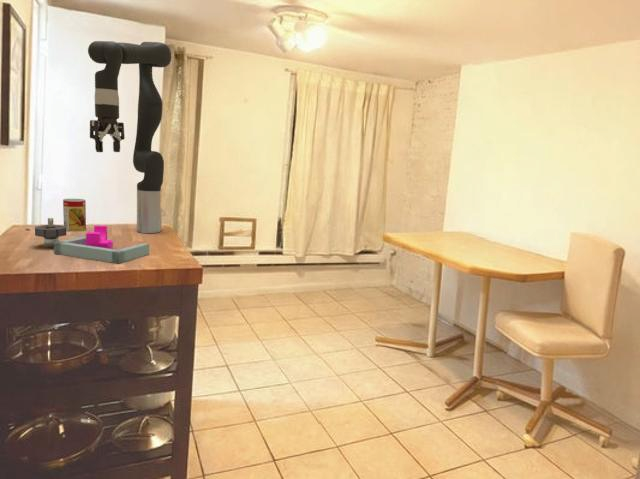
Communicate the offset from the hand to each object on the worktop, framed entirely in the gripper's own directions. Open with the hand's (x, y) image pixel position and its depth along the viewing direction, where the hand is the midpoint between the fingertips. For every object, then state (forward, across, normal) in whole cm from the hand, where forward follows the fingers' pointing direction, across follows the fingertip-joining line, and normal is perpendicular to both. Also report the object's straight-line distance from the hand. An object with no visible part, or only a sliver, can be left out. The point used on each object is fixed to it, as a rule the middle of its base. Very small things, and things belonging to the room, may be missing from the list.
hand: (108, 152), depth 162 cm
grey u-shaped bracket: (+32, +15, +9) cm, 36 cm away
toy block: (+33, +12, +6) cm, 35 cm away
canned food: (+33, -13, -27) cm, 44 cm away
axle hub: (+32, +15, -11) cm, 37 cm away
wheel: (+28, +15, -11) cm, 34 cm away
